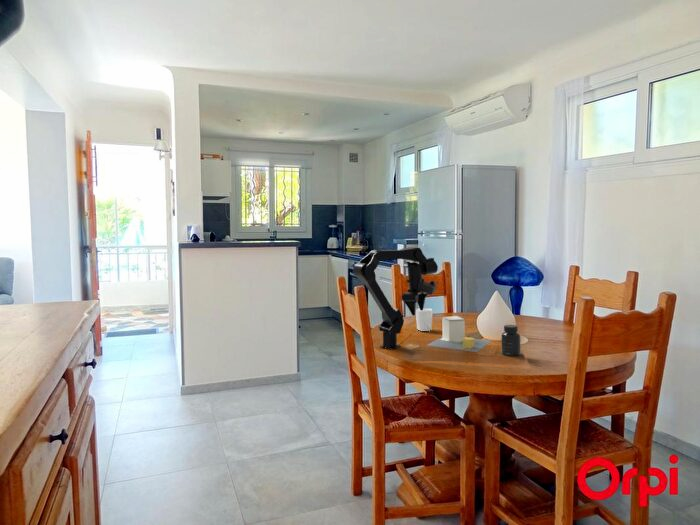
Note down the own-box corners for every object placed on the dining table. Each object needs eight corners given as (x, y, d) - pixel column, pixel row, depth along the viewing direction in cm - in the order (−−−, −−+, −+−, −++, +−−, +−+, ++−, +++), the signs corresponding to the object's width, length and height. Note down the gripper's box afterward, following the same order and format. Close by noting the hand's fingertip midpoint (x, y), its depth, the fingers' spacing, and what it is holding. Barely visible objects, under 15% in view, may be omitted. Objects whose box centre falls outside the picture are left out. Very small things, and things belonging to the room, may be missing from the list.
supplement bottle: (505, 353, 187) (505, 323, 186) (523, 356, 182) (523, 325, 181) (498, 357, 181) (498, 326, 180) (516, 360, 177) (516, 328, 176)
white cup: (413, 331, 228) (413, 310, 227) (419, 328, 235) (419, 307, 234) (429, 332, 224) (429, 311, 224) (434, 329, 231) (434, 308, 231)
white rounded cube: (464, 340, 204) (464, 319, 203) (449, 341, 202) (449, 320, 201) (457, 336, 211) (457, 316, 210) (442, 337, 209) (442, 316, 208)
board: (476, 354, 186) (476, 342, 185) (426, 348, 197) (426, 336, 197) (491, 343, 203) (491, 332, 202) (444, 338, 214) (444, 327, 213)
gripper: (425, 280, 192) (428, 318, 194) (440, 272, 208) (443, 308, 210) (399, 280, 198) (402, 317, 200) (416, 273, 214) (419, 307, 216)
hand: (417, 312), depth 206 cm, fingers open, 9 cm apart
